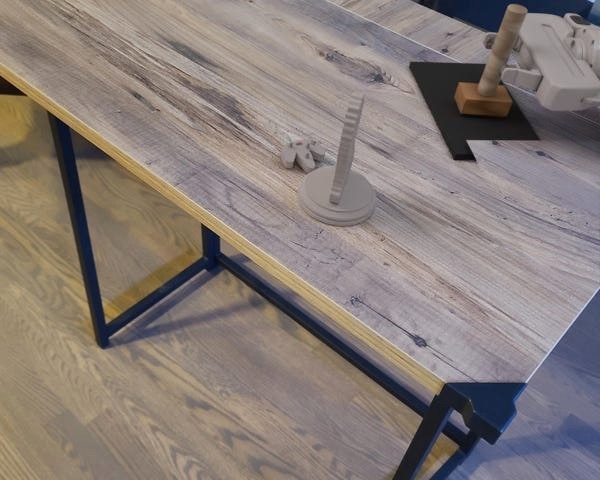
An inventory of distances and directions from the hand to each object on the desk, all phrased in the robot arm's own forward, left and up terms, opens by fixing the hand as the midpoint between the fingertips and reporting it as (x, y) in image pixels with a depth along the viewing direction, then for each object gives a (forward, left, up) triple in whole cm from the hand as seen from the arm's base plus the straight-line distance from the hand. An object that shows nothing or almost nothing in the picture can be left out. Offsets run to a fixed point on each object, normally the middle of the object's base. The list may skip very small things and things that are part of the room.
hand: (493, 56), depth 82 cm
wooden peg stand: (-1, 0, -8) cm, 8 cm away
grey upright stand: (+24, +18, -10) cm, 32 cm away
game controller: (+28, +8, -10) cm, 31 cm away
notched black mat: (-1, -1, -9) cm, 10 cm away
